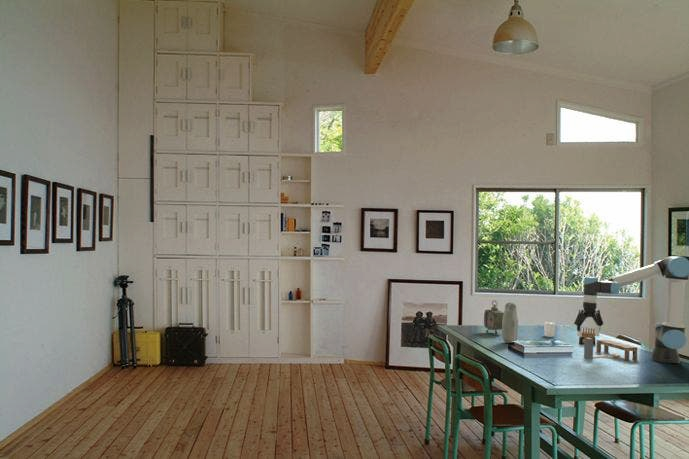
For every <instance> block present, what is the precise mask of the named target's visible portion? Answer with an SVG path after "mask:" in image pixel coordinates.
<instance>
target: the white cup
mask: <svg viewBox="0 0 689 459" xmlns="http://www.w3.org/2000/svg"><path fill="white" fill-rule="evenodd" d="M556 325H557V324H556V322H553V321H552V322H550V321H545V322H544V324H543V326H544V327H543V329H544V336H545V337H548V338H555V333H556Z"/></svg>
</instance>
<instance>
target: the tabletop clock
mask: <svg viewBox="0 0 689 459" xmlns="http://www.w3.org/2000/svg"><path fill="white" fill-rule="evenodd" d="M494 302H495V303H496V304H493V303H494ZM491 304H492V306H491V308H490V309H485V310H484V314H483V325H484V326H483V327H485V328H486V329H487V330H485V332H486V333H488V332H489V330H490V331H494V333H493V335H494V336H496V335H498V333H499V332H498V331H500V330H501V331H502V318H503V315H504V312H503V311H502V310H499V309H498V301H496V300H492V301H491Z"/></svg>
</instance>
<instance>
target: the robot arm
mask: <svg viewBox="0 0 689 459" xmlns="http://www.w3.org/2000/svg"><path fill="white" fill-rule="evenodd" d="M656 277H664V279H665V280H666V281H667V290H666V303H665V316H664V317H665V318H664V319H665V320H664V322H656V323H655V327H654V348H653V351H652V353H651V356H650V359H651V360H652V361H655V362H659V363H664V364H671V363H678V364H681V357H680V356H679V355H680V354H679V351H678V350H680V349H682V348H683V347H685V345H686V343H687V336H686V334H685V333H686V332H685V331H686V326H685V325H684V324H683V318H684V317H683V316H684V304H685V291H686V283H687V282H689V259H687V258H686V257H684V256H676V255H671V256H667V257H665V258H662V259H660V260H658V261H657V260H656V261H654V262H653V264H650V265H646V266H644V267H640V268H637V269H634V270H632V271H628V272H625V273H621V274H619V275H614V276H611V277H609V278H606V279H605V278H603V279H600V280H598V277H595V276H586V277H584V279H583V299H582V300H583V302H582V308H583V309H579V310H578V314H577V316H576V318H575V320H574V323H573V324H574V325H575V326H576V332H577V334H576V335H577V337H582V333H583V326H582V325H583V323H584V322H585V321H586V319H587V318H592V320H593V321H594V322H595V327H594V328H595V337H600V331H601V327H602V326H603V325H604V321H603V318H602V316H601V310H600V309H597V305H598V304H597V301H598V300H597V299H598V294H606V295H607V294H609V295H618V294H619V292H620V288H623V287H624V288H625V287H627V286H629V285H633V284H637V283H640V282H644V281H646V280H649V279H653V278H656Z"/></svg>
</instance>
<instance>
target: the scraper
mask: <svg viewBox="0 0 689 459" xmlns="http://www.w3.org/2000/svg"><path fill="white" fill-rule="evenodd" d="M583 349H584V350H583V351H584V352H583V353H584V354H583V358H586V359H589V360H590V359H597V358H599V359H600V358H601V359H602V358H607V359H614V357H613V356H612V355H610V354H608V353H601V354H600V355H594V345H593V339H592V338H585V340H584V346H583Z"/></svg>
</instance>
